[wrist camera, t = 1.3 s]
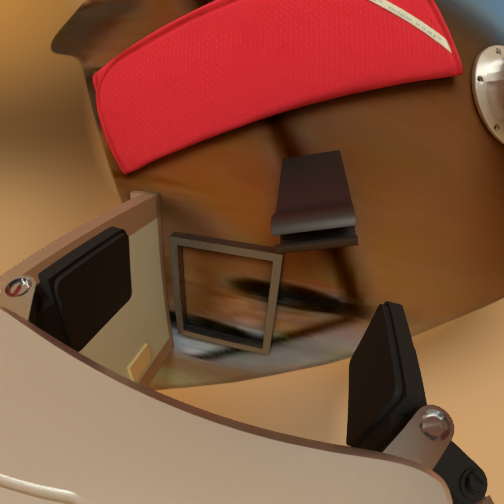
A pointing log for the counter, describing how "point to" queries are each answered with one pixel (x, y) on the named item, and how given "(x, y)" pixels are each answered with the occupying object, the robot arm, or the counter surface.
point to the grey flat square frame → (230, 248)
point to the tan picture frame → (143, 289)
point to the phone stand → (313, 205)
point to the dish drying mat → (261, 67)
